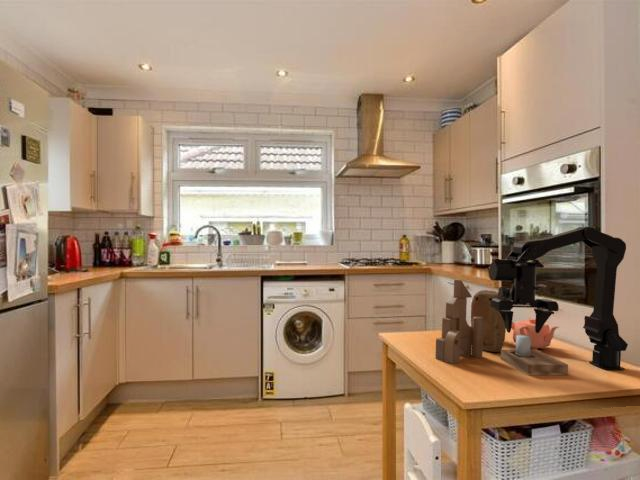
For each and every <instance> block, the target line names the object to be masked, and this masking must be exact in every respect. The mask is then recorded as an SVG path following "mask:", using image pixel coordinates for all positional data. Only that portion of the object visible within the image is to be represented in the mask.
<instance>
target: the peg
mask: <svg viewBox="0 0 640 480" xmlns="http://www.w3.org/2000/svg"><path fill="white" fill-rule="evenodd" d="M515 350H516V352H515V355H516V356H518V357H530V350H531V337H529V336H524V335H516V342H515Z"/></svg>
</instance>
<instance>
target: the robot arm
mask: <svg viewBox="0 0 640 480" xmlns="http://www.w3.org/2000/svg"><path fill="white" fill-rule="evenodd" d="M577 243H583V244H584V245H585V246H586V247H588V248H589V249H591V251H592V252H591V253H592V257H593V260H594V262H595V264H596V273H595V275H596V277H595V287H594V301H593V309H592V313H591V314H590V315H584V319H583V320H584V324H583V326H582V329H584V332H585V335H586V336H587V337H588V339H589V343H592V344H593V350H592V360H589V361H588V362H589V364H592V365H593V366H596V367H598V368H600V369H602V370H606V371H608V370H610V371H611V370H612V371H614V370H613V369H626V368H625V367H623V366H621V359H622V358H621V355H622V352H626V351H627V348H628V345H629V344H628V343H627V341H625V340H624V338H622V336H621V335H620V332H619V330H620V329H619V324H618V322H617V320H616V317H615V316H614V307H615V306H614V305H615V296H616V295H615V294H616V284H617V270H618V267H619V265H620V264H621V262H622V261H623V260H624V258H625V254H626V251H627V244H626V242H625V241H624V240H623V239H622V238H620V237H614V236H612V235H610V234H607V233H605V232H602V231H598V230H597V229H595V228H593V227H592V226H579V227H576V228H574V229H570V230H568V231H563V232H560V233H558V234H554V235H550V236H546V237H543V238H537V239H526V240H525V239H524V240H519V241H517V242H515V243H514V245H513V246H512V247H513V248H512V250H511V252H509V254H508V255H507V256H506V258H505V259H503V258H502V259H501V258H492V260H491V263H490V264H489V267H488V270H487V272H488V277H489V280H490V281H492V282H512V281H513V280H514V283H511V287H510V288H508V287H507V286H500V287H499V286H498V290H497V291H498V295H499V297H504V298H493V299H492V300H491V304H490V307H493V308H495V310H497V311H499V313H500V314H501V316H502V318H503V321H504V324H505V327H506V332H507V333H511V331H512V328H511V327H512V322H513V319H514V318H513V317H514V311H512V309H513V308H526V309H527V308H529V309H530V308H533V310H534V313H535V319H536V321H535V332H536V333H539V332H540V330H541V329H542V327H543V325H544V324H546V322H547V321H548V320H549V319H550V317H551V316H552V315H555V312H559V304H558V302H557V301H554V300H552V299H548V298H536V290H537V291H538V290H539V286H538V285H536V284H537V283H536V281H537V269H538V268H541V269H542V268H543V269H544V267H545V266H544V264H542V263H541V262H540V260H539V258H541V257H544V256H545V255H546V254H548V253H549V252H551V251H554V250H556V249H557V250H558V249H560V248H564V247H567V246H571V245H574V244H577Z"/></svg>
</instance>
